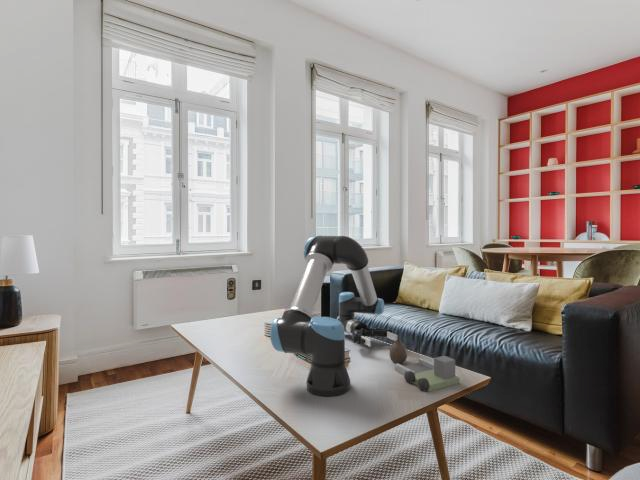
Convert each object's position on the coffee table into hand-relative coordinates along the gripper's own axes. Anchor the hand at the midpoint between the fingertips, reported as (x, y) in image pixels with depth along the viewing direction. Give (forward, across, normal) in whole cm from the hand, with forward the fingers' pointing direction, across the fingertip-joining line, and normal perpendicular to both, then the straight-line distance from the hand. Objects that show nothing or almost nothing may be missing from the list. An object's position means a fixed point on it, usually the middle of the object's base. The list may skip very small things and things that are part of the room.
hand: (383, 340), depth 164 cm
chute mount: (+21, 0, -6) cm, 22 cm away
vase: (+10, 0, -6) cm, 12 cm away
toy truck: (+31, +2, -6) cm, 32 cm away
